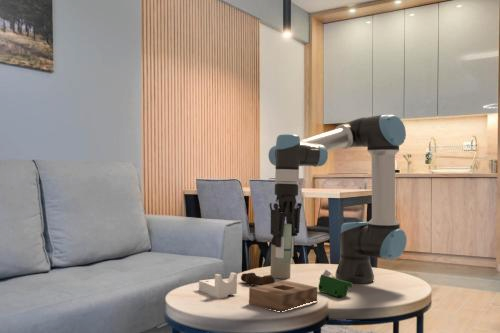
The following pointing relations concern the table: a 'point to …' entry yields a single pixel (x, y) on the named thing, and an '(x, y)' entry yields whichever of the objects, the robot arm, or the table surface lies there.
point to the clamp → (333, 286)
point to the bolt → (257, 279)
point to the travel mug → (278, 264)
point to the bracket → (219, 286)
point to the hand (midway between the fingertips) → (284, 256)
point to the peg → (286, 244)
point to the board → (282, 295)
